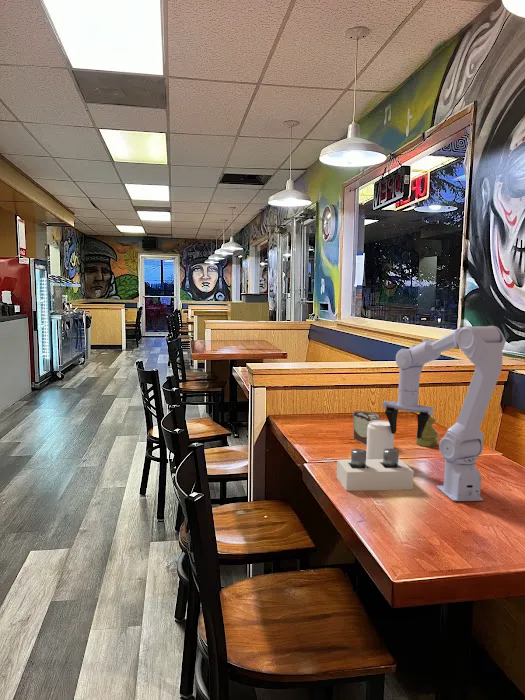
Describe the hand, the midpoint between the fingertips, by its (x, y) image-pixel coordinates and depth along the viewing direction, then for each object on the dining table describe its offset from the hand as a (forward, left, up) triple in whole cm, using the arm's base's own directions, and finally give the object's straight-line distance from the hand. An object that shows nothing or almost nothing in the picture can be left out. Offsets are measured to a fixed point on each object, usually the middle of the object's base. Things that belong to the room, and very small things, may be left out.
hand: (406, 435), depth 147 cm
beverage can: (+7, +5, -10) cm, 13 cm away
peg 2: (-11, +9, -6) cm, 15 cm away
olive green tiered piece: (+24, -18, -10) cm, 32 cm away
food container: (+27, +2, -10) cm, 29 cm away
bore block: (-11, +13, -10) cm, 20 cm away
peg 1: (-11, +18, -6) cm, 22 cm away
